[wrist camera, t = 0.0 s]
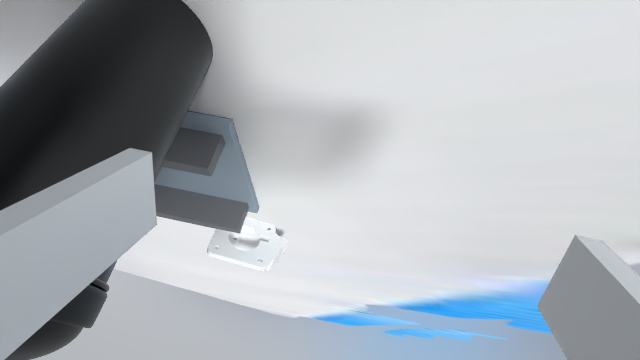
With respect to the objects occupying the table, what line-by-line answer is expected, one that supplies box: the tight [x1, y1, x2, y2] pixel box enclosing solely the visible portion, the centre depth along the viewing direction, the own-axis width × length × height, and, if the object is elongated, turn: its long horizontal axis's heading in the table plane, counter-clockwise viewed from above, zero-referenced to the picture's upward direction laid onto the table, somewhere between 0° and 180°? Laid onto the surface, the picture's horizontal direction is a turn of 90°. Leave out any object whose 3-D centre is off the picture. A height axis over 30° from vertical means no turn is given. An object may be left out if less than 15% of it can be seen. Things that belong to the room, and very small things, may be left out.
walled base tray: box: [154, 111, 259, 234], centre depth 42 cm, size 20×20×5 cm
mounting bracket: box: [207, 217, 289, 271], centre depth 55 cm, size 12×6×11 cm, turn 73°
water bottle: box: [0, 0, 213, 360], centre depth 20 cm, size 10×10×23 cm
